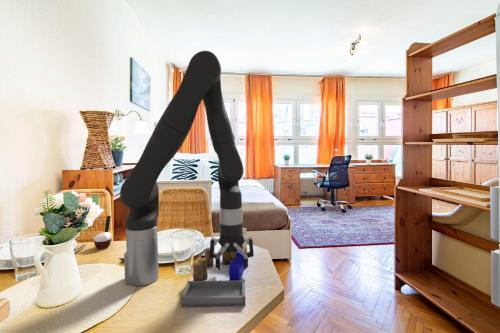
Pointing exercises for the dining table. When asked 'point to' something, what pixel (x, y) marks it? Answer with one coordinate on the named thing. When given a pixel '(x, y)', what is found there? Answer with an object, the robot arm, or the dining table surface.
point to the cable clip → (236, 267)
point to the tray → (214, 293)
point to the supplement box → (233, 254)
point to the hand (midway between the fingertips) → (232, 268)
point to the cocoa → (103, 237)
